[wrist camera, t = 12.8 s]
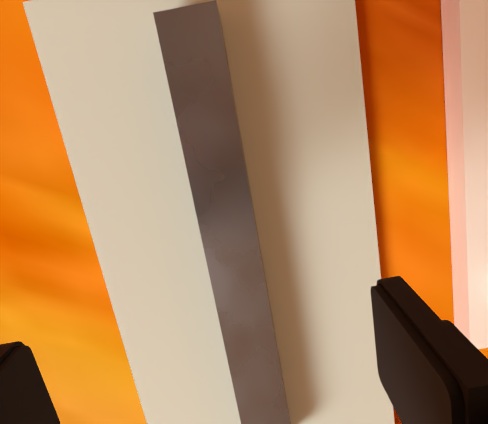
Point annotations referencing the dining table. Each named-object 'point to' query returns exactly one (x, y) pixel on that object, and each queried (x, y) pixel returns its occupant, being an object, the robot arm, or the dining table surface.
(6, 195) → the dining table surface
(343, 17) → the mat
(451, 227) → the hook rack
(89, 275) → the dining table surface
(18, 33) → the dining table surface
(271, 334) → the rail
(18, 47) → the dining table surface
